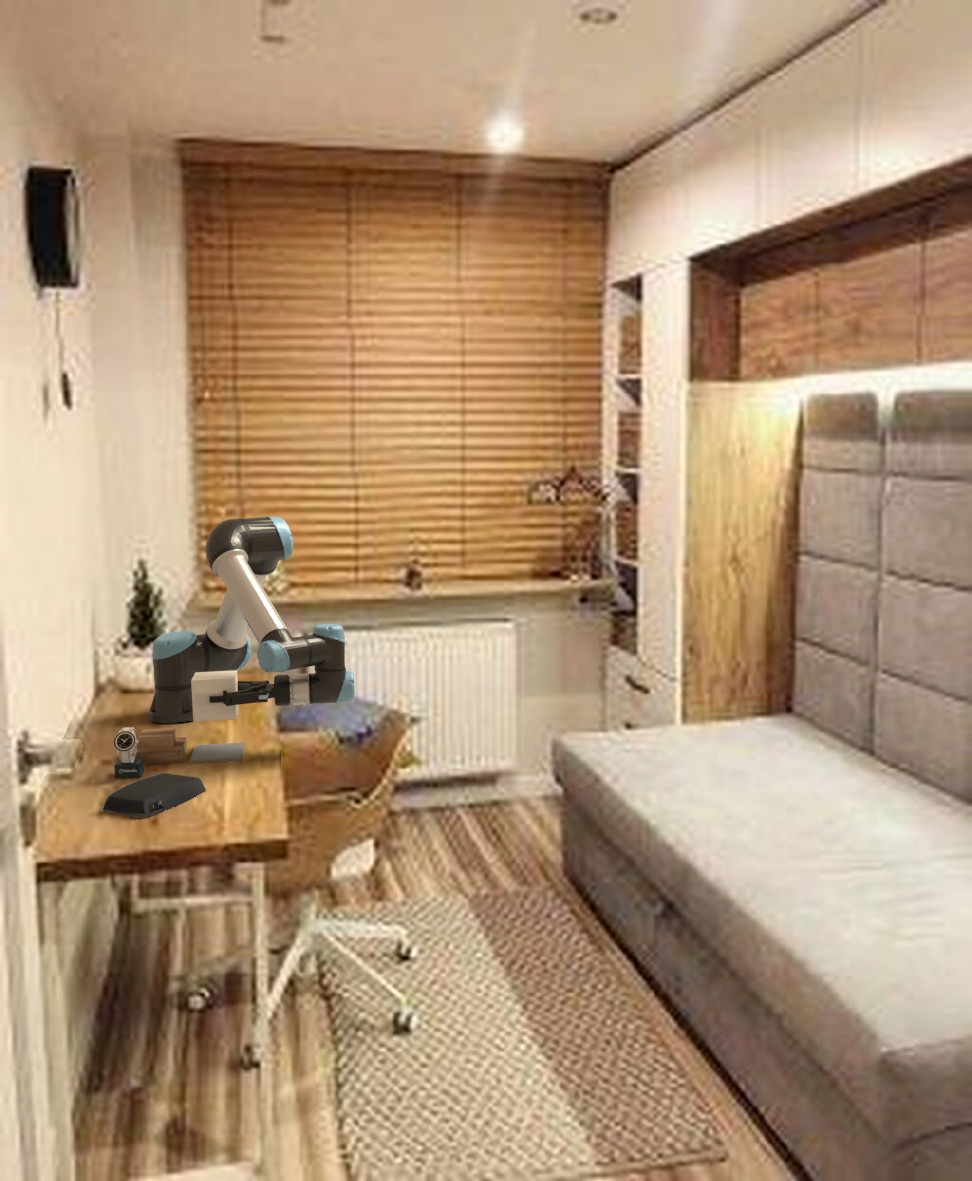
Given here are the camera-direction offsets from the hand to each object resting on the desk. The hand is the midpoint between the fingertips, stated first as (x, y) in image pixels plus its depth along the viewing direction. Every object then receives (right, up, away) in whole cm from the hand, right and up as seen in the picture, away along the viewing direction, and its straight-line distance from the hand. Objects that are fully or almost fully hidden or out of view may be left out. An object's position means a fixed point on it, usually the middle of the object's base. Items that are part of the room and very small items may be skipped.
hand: (197, 694), depth 269 cm
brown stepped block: (-9, -15, +1) cm, 18 cm away
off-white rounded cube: (+4, -5, +1) cm, 7 cm away
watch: (-12, -17, -14) cm, 25 cm away
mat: (+4, -15, +3) cm, 15 cm away
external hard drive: (0, -20, -33) cm, 39 cm away
